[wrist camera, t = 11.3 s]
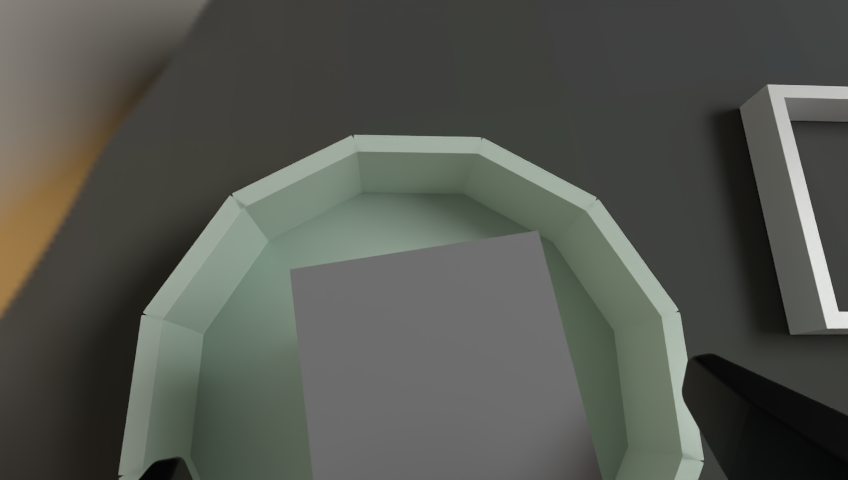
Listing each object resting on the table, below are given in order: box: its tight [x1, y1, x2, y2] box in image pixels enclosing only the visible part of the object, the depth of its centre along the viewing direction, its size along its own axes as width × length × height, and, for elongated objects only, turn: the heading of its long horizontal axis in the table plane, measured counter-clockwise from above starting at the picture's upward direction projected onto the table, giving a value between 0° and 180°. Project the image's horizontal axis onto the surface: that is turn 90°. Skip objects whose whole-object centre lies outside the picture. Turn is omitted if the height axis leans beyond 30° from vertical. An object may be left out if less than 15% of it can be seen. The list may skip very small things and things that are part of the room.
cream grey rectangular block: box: [290, 231, 602, 480], centre depth 14 cm, size 5×5×9 cm
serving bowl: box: [118, 135, 704, 480], centre depth 17 cm, size 16×16×4 cm
